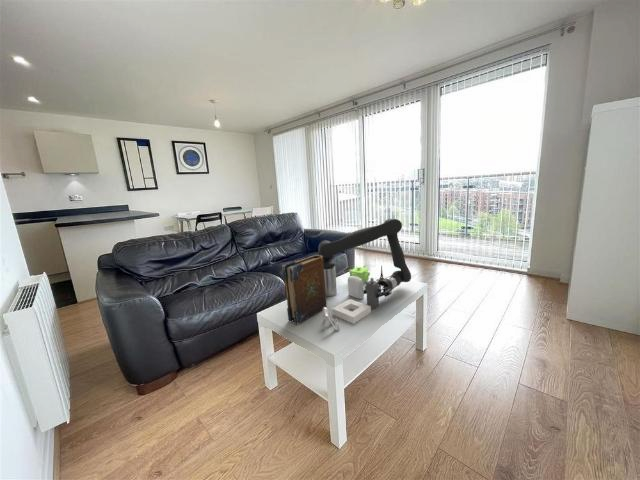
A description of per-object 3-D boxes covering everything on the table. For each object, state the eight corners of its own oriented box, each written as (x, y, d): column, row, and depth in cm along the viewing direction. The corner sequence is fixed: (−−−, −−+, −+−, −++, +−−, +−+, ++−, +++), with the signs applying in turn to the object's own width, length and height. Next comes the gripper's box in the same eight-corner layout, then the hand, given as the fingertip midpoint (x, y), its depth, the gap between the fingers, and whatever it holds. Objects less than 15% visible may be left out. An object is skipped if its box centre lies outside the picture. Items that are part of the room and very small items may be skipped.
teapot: (365, 277, 182) (365, 263, 180) (374, 283, 169) (374, 268, 167) (345, 280, 178) (344, 266, 176) (352, 287, 165) (352, 272, 163)
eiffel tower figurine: (396, 283, 168) (396, 264, 165) (388, 288, 161) (387, 268, 158) (377, 278, 179) (377, 260, 176) (368, 283, 172) (368, 264, 170)
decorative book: (297, 325, 125) (291, 267, 119) (288, 321, 130) (282, 265, 124) (328, 307, 142) (325, 255, 136) (319, 303, 147) (315, 253, 140)
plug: (367, 307, 139) (365, 278, 135) (371, 304, 142) (371, 276, 138) (374, 309, 135) (373, 280, 132) (378, 306, 138) (378, 277, 135)
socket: (332, 314, 133) (332, 308, 133) (350, 304, 143) (349, 299, 142) (353, 323, 123) (353, 317, 123) (370, 312, 133) (370, 306, 132)
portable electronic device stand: (339, 331, 118) (338, 314, 117) (322, 332, 118) (321, 316, 116) (337, 321, 127) (336, 305, 125) (321, 323, 126) (320, 307, 125)
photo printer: (347, 294, 155) (346, 275, 153) (352, 292, 158) (351, 273, 155) (360, 300, 148) (359, 279, 145) (365, 297, 150) (364, 277, 148)
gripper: (376, 275, 151) (359, 284, 140) (398, 281, 140) (381, 291, 129) (376, 287, 152) (359, 297, 141) (398, 293, 142) (381, 304, 131)
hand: (370, 294), depth 135 cm, fingers open, 7 cm apart
